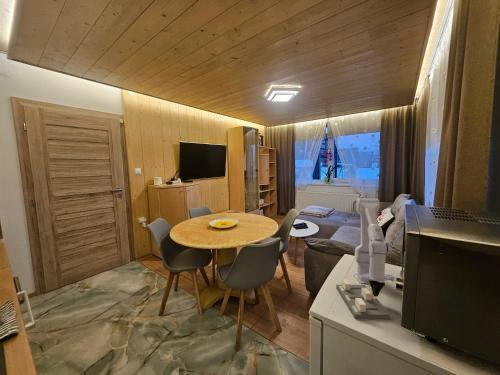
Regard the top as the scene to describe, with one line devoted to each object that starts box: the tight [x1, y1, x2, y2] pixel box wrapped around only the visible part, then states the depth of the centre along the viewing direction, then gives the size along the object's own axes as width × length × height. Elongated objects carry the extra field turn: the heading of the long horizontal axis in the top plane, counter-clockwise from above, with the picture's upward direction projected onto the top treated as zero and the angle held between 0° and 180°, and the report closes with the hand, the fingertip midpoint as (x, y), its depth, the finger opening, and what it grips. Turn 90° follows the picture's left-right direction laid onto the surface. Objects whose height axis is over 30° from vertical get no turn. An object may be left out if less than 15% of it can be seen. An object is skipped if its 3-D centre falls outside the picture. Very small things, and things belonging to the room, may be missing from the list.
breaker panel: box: [335, 284, 391, 320], centre depth 93 cm, size 14×20×2 cm
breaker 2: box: [355, 298, 366, 312], centre depth 86 cm, size 2×4×3 cm, turn 178°
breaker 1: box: [341, 278, 352, 290], centre depth 100 cm, size 2×4×3 cm, turn 178°
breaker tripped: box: [361, 287, 373, 300], centre depth 92 cm, size 2×4×3 cm, turn 178°
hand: (375, 295), depth 92 cm, fingers closed
